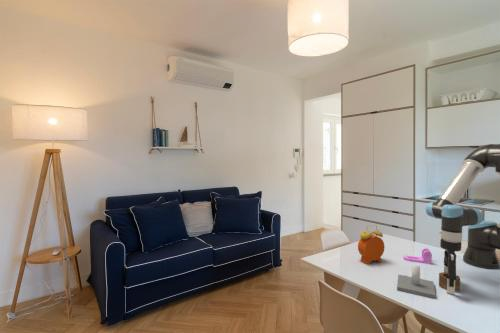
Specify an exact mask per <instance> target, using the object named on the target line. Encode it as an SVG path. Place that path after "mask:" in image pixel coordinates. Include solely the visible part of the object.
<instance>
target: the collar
mask: <svg viewBox="0 0 500 333" xmlns="http://www.w3.org/2000/svg"><path fill="white" fill-rule="evenodd" d="M446 276H448V273H446V272H444V271H442V272H439V273H438V286H439V288H442V289H444V290H445V291H447V278H446ZM453 277H454V276H453ZM456 278H457V279H456V280H455V292H458V291H460V290H461V289H460V288H461V278H460V276H458V275H457V274H456Z"/></svg>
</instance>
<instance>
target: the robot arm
mask: <svg viewBox="0 0 500 333" xmlns="http://www.w3.org/2000/svg"><path fill="white" fill-rule="evenodd" d="M461 163H462V166H461V168H459V170H458V171H457V172H456V174H455V175H454V177H453V179H451V181H450V182H449V183H448V185H447V186H446V187H445V189H444V190H443V192H442V194H440V196H439V197H438V198H437V200H436V201H435V202H434V201H431V202H429V203H427V204H426V206H425V212H426V214H427V215H428V216H429V217H432V218H434V219H439V220H441V227H440V228H441V230H440V231H439V234H440V248H441V249H443V250H444V252H443V253H444V256H443V257H444V258H443V272H446V273H448V276H446V278H447V290H446V294H450V295H455V294H456V291H455V280H456V279H457V278H456V275H457V254H456V252H461V250H462V240H463V227H468V228H467V247H466V249H465V251H464V253H463V255H462V261H463V262H465V263H466V264H469V265H471V266H474V267H476V268H477V267H478V268H482V269H488V270H491V269H492V270H496V269H499V268H500V261H499V258H498V254H497V252H496V250H498V251H499V250H500V222H499V223H497V222H496V221H492V220H491V221H490V220H484V214H483V213H482V211H480V210H479V209H478V208H474V207H472V208H471V207H462V206H460V205H458V203H459V201H460V200H461V199H462V197H463V196H464V195H465V193H466V192H467V191H468V189H469V187H470V186H471V185H472V184H473V182H474V181H475V179H476V177H477V176H478V175H479V173H483V172H484V171H485V170H486V169H487V168H495V174H497V175H498V176H500V143H499V144H498V143H494V144H493V143H488V144H485V145H481V146H479V147H477V148H476V149H474V150H472V152H470V153H469V154H468V155H467V156H466V157H465V158H464V159H463V161H462V162H461ZM453 276H454V277H453Z"/></svg>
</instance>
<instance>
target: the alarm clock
mask: <svg viewBox="0 0 500 333" xmlns="http://www.w3.org/2000/svg"><path fill="white" fill-rule="evenodd" d="M371 226H372V227H373V226H375V229H374V230H372V231H371V232H370V231H368V230H363V231H362V232H361V233H360V235H359V236H360V239H359V240H358V243H357V250H358V252H359V254H360V256H361V257H360V262H362V263H364V264H366V265H369V264H371V263H372V261H373V262H374V261H375V262H377V263H382V262H383V261H382V259H381V257H382V256H383V254H384V252H385V242H384V240H383V239H382V238H383V235H384V234H383V233H382V232H381V231H380V230H378V229H377V225H375V224H374V225H371ZM368 227H369V225H367V226H366V228H368Z"/></svg>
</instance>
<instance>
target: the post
mask: <svg viewBox="0 0 500 333" xmlns="http://www.w3.org/2000/svg"><path fill="white" fill-rule="evenodd" d="M396 290H397V291H399V292H404V293H408V294H413V295H416V296H417V295H418V296H421V297H427V298H430V299H434V300H436V296H437V294H436V290H435V285H434V281H433V280H429V279H428V280H427V279H422V278H421V267H420V265H416V264H415V265H414V264H412V266H411V276H408V275H403V274H398V276H397V285H396Z"/></svg>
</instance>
